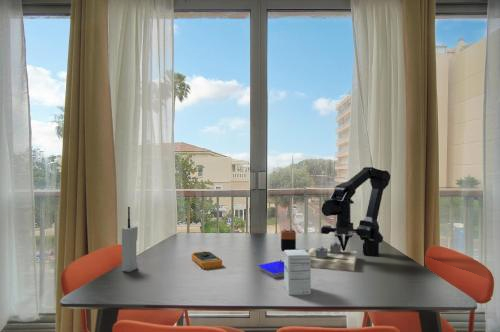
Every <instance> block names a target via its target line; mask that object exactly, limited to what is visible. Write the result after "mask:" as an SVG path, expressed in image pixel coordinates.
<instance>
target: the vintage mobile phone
mask: <svg viewBox="0 0 500 332" xmlns="http://www.w3.org/2000/svg"><path fill="white" fill-rule="evenodd" d="M130 210H131V209H130V206H128V207H127V226H125V227H122V228H121V271H122V272H127V273H129V272H133V271H135V270H138V269H139V263H138V261H137V241H138V232H139V231H138V229H139V228H138V226H131V218H130V217H131V211H130Z"/></svg>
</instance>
